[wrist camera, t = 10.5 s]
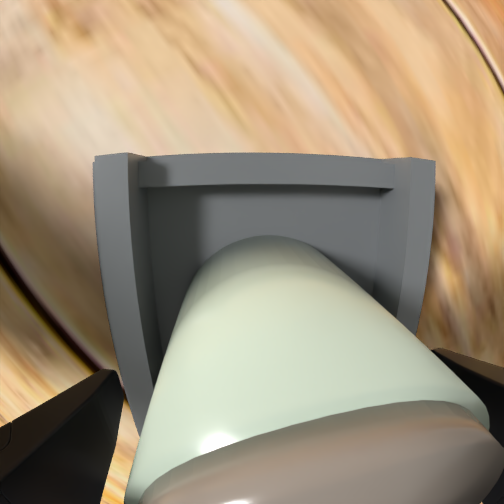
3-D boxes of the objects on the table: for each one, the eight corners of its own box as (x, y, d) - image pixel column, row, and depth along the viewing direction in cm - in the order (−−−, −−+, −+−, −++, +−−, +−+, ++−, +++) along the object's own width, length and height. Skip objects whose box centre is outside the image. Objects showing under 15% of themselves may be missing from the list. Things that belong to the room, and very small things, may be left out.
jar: (190, 384, 12) (167, 595, 3) (177, 236, 10) (25, 446, 2) (336, 376, 12) (425, 555, 3) (352, 234, 11) (573, 364, 2)
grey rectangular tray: (163, 488, 14) (153, 560, 9) (98, 162, 10) (0, 158, 4) (356, 475, 15) (382, 539, 9) (417, 164, 11) (523, 167, 5)
